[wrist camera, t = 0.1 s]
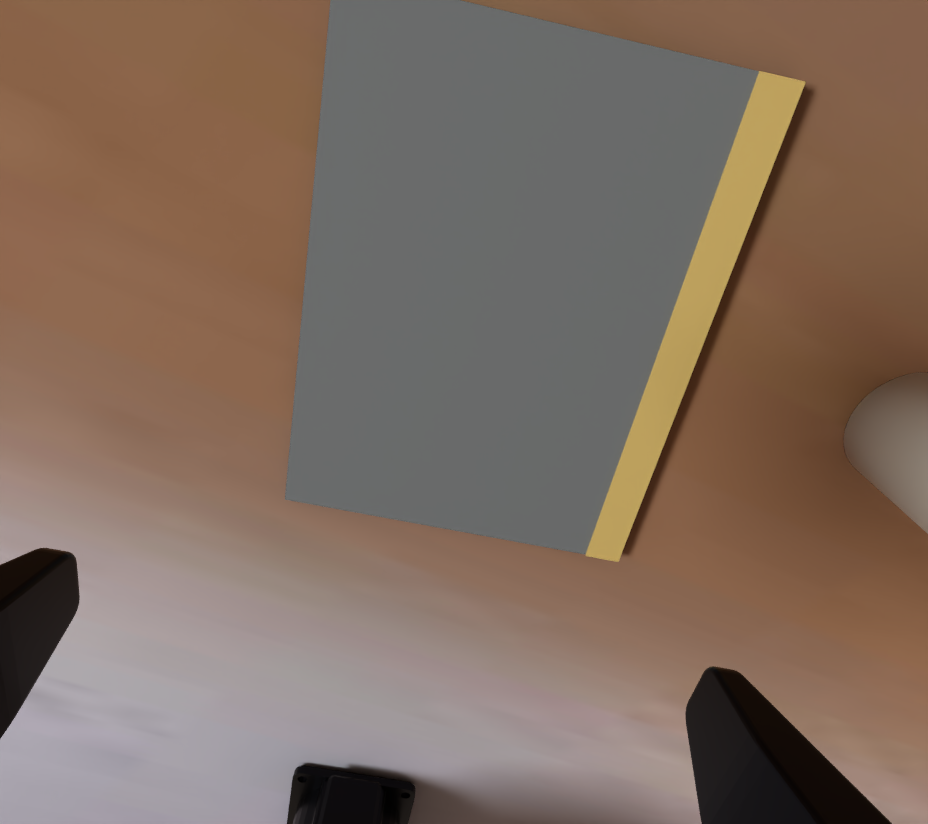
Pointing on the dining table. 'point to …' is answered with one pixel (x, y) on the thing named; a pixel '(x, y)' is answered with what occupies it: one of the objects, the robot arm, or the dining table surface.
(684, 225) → the mat
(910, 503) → the skittle
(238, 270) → the dining table surface
